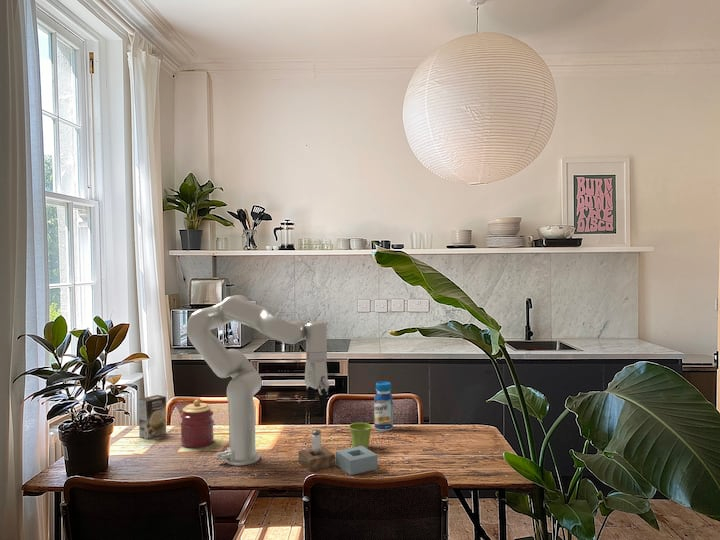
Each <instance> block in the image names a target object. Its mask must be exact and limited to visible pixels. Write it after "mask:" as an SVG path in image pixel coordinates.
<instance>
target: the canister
mask: <svg viewBox="0 0 720 540" xmlns="http://www.w3.org/2000/svg"><path fill="white" fill-rule="evenodd" d="M213 415H214V411H213V410H212V406H211V405H209V404H207V403H206V402H201V401H200V400H199V399H195V400H194V401H193V403H188V404H187V405H186V406H185V407H183V408H182V413H181V414H180V415H179V416H180V418H181V422H180V443H181V446H183V447H184V448H189V449H190V448H201V447H206V446H209V445H211V444H212V443H213V442H214V439H215V434H214V421H215V420H214V419H213Z"/></svg>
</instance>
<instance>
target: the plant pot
mask: <svg viewBox="0 0 720 540" xmlns="http://www.w3.org/2000/svg"><path fill="white" fill-rule="evenodd" d="M348 429H349V432H350V435H351V443H352V444H351V445H352V448H353V447H358V446H363V447H365V448H367V449H368V450H369V444H370V438H371V432H372V429H373V425H372V424H370V423H367V422H353V423H350V424H349V425H348Z"/></svg>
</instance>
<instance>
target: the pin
mask: <svg viewBox="0 0 720 540" xmlns="http://www.w3.org/2000/svg"><path fill="white" fill-rule="evenodd" d="M321 447H322V430H320V429H313V430H311V449H312V456H317V455H321Z"/></svg>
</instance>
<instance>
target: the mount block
mask: <svg viewBox="0 0 720 540" xmlns="http://www.w3.org/2000/svg"><path fill="white" fill-rule="evenodd" d="M298 464H300V465H301V466H302V467H304V468H305V467H306V468H305V469H307V470H308V471H309V472H313V471H317V470H321V469H326V468H330V467H335V466H336V453H334V452H332V451H330V450H329V449H328V448H326V447H325V446H322V445H321V455H317V456H312V448H308V449H302V450H298Z"/></svg>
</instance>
